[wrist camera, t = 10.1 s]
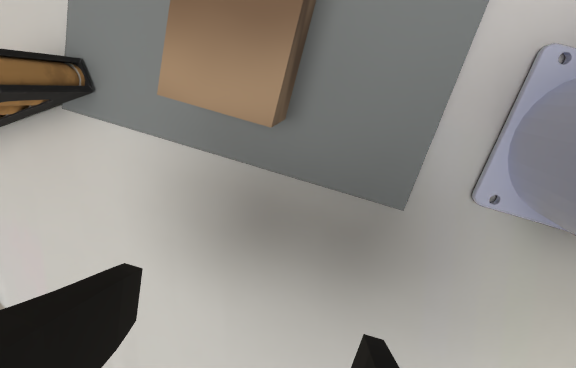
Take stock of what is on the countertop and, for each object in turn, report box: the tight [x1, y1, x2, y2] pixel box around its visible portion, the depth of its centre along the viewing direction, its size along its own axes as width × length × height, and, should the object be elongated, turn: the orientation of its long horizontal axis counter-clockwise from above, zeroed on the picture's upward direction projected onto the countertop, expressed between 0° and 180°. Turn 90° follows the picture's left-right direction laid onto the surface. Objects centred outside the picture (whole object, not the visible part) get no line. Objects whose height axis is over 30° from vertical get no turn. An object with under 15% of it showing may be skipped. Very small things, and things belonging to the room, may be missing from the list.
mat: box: [62, 0, 489, 211], centre depth 16 cm, size 20×15×1 cm
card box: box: [157, 0, 316, 128], centre depth 14 cm, size 9×5×4 cm, turn 165°
